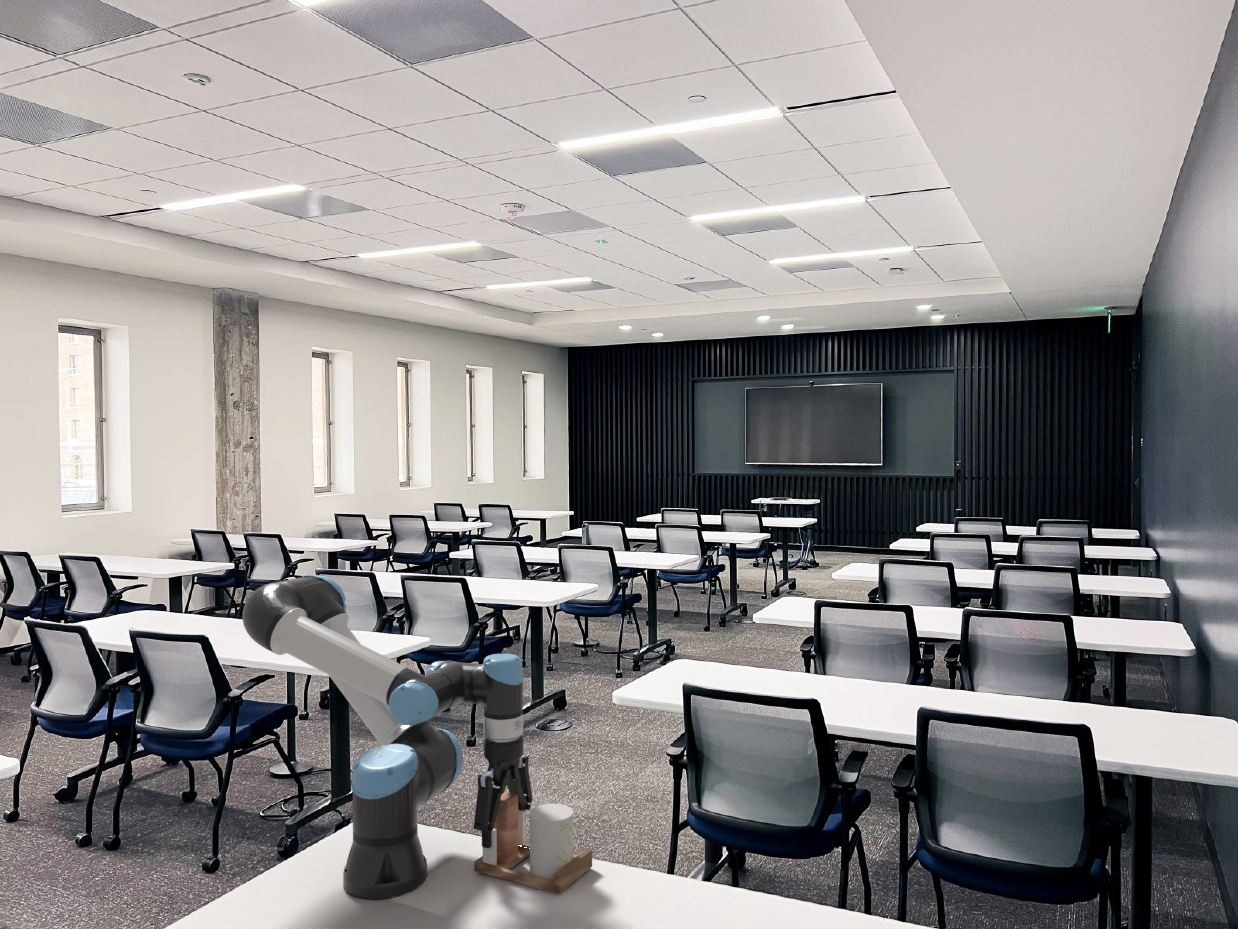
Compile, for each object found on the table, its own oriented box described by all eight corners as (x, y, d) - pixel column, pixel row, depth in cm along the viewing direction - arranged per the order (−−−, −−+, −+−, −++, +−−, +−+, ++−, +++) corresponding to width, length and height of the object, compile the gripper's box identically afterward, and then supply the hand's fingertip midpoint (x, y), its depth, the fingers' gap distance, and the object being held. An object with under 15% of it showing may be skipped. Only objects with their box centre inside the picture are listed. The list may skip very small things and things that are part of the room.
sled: (474, 871, 169) (474, 804, 169) (510, 846, 179) (509, 783, 179) (559, 894, 160) (559, 824, 160) (592, 866, 171) (591, 800, 170)
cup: (568, 888, 163) (568, 822, 163) (524, 884, 164) (524, 819, 164) (577, 867, 171) (577, 805, 171) (536, 864, 172) (535, 802, 172)
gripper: (485, 756, 161) (486, 881, 161) (550, 723, 180) (550, 835, 181) (452, 750, 165) (453, 872, 165) (519, 718, 184) (519, 828, 184)
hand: (504, 852), depth 173 cm, fingers closed on sled, 9 cm apart
